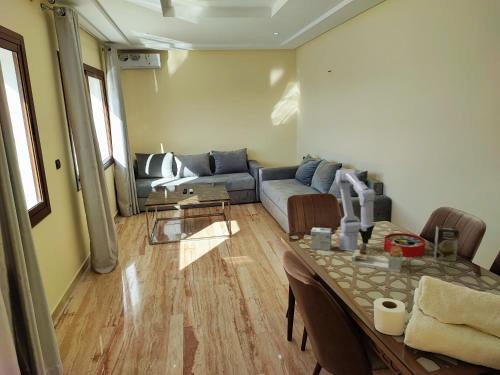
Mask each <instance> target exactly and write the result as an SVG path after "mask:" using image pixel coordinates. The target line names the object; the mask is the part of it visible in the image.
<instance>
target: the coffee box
mask: <svg viewBox="0 0 500 375" xmlns="http://www.w3.org/2000/svg"><path fill="white" fill-rule="evenodd" d="M434 235H435V236H434V244H433V245H434V247H433V257H434V259H435V260H438V261H447V262H448V261H449V262H456V261H457V254H458V244H459V237H460V236H459V235H460V230H459V229H458V228H457V226H450V225H436V226H435V234H434Z"/></svg>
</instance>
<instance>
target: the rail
mask: <svg viewBox="0 0 500 375" xmlns="http://www.w3.org/2000/svg"><path fill="white" fill-rule="evenodd" d="M358 251H359V249H358V250H357V249H356V251H355V252H353V254H352V256H351V265H354V266H359V267H364V266H365V268H369V267H370V269H375V268H376V269H375V270H381V271H387V272H391V273H392V272H393V273H398V274H400V272H401V268H402V265H403V257H402V254H403V252H400V254H399V257H394V256H392V251H391V253H389V257H388V258H383V257H378V256H371V255H369V257H368V260H361V259H357V258H356V254H357V253H358Z"/></svg>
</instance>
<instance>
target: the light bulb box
mask: <svg viewBox="0 0 500 375" xmlns="http://www.w3.org/2000/svg"><path fill="white" fill-rule="evenodd" d="M310 249H311V250H321V251H331V249H332V228H325V227H312V229H311V230H310Z"/></svg>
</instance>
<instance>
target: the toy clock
mask: <svg viewBox="0 0 500 375" xmlns="http://www.w3.org/2000/svg"><path fill="white" fill-rule="evenodd" d="M383 242H384V244H383V248H384V250H385V251H386V252H387V253H389V254H390V253H391V247H392V246H398V247H401V248H402V251H401V252H403V254H402V258H418V257H422V256H424V255H425V253H426V240H425V239H424V238H423V237H421V236H418V235H416V234H411V233H402V232H396V233H394V232H393V233H389V234H386V235H385V237H384V241H383Z"/></svg>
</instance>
